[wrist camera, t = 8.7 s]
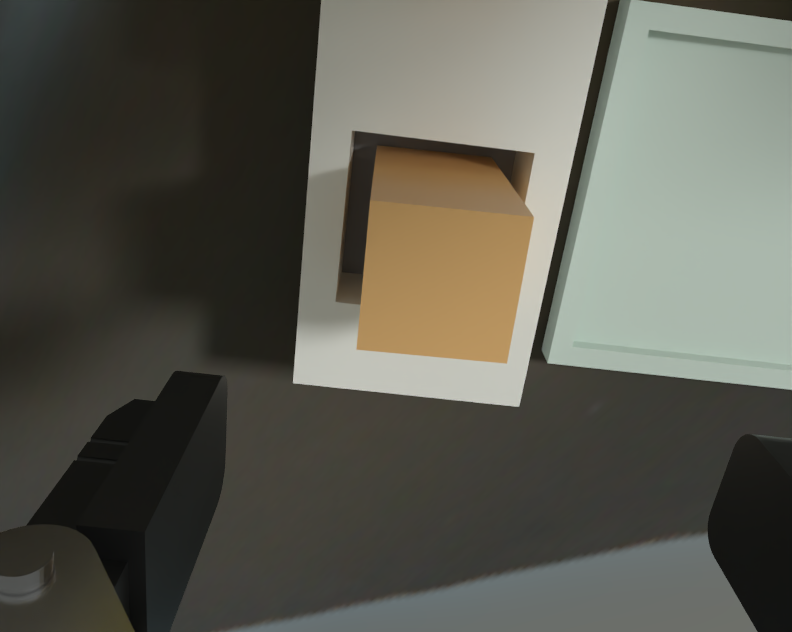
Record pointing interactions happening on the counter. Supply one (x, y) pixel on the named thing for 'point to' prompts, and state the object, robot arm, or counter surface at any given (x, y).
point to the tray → (684, 204)
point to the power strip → (443, 132)
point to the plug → (442, 256)
